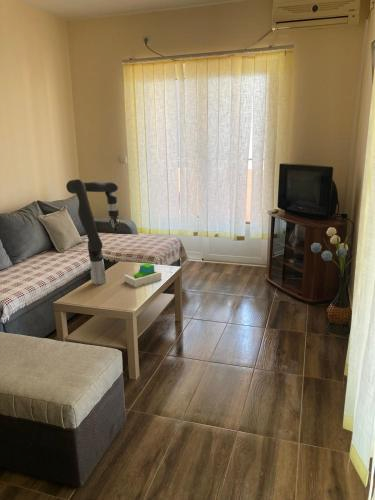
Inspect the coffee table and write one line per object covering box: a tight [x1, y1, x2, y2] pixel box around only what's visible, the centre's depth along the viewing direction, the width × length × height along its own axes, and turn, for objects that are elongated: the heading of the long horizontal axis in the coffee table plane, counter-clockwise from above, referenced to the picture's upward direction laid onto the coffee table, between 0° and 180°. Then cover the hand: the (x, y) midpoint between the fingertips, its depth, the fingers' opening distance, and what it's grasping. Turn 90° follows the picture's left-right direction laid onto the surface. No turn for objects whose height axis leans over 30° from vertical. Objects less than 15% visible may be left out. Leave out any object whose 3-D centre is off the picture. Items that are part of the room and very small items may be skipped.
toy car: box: [133, 262, 155, 279], centre depth 288 cm, size 10×13×10 cm
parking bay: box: [123, 269, 162, 288], centre depth 286 cm, size 22×15×5 cm
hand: (115, 232), depth 299 cm, fingers closed
